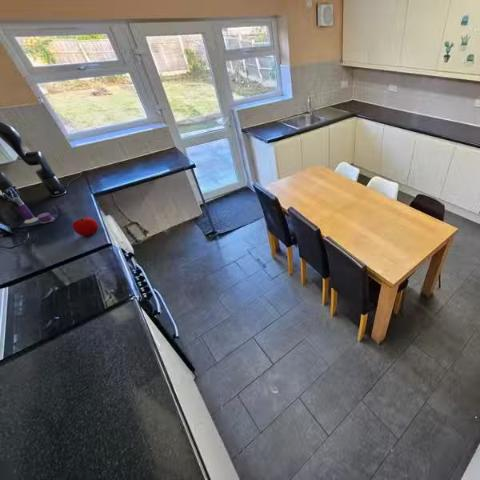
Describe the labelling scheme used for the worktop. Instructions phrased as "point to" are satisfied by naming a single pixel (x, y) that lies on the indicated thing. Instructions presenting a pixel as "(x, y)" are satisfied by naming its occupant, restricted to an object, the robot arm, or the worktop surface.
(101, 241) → the worktop surface
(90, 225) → the tomato
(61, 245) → the worktop surface
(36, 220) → the mat
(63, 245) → the worktop surface
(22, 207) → the container
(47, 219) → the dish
